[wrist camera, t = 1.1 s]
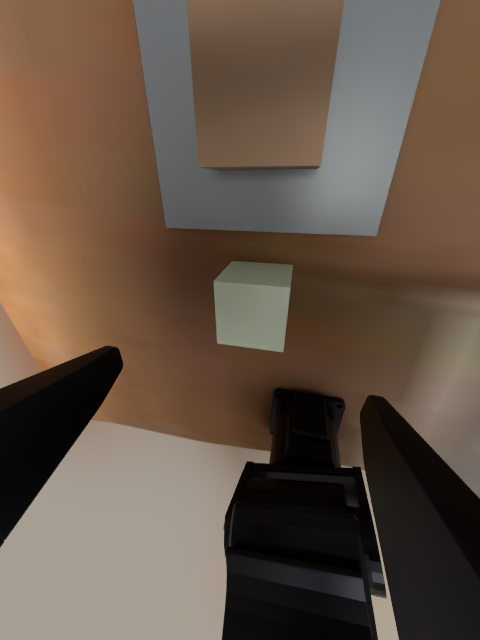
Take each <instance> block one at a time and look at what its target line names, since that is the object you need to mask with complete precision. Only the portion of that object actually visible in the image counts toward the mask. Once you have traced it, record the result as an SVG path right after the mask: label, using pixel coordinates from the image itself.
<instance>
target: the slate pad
mask: <svg viewBox="0 0 480 640" xmlns="http://www.w3.org/2000/svg"><path fill="white" fill-rule="evenodd" d="M440 1H441V0H344V6H343V13H342V20H341V27H340V34H339V41H338V48H337V55H336V62H335V69H334V76H333V84H332V91H331V98H330V105H329V112H328V119H327V126H326V133H325V140H324V147H323V154H322V161H321V166H320V167H319V168H318V169H273V170H212V169H206V168H200V167H199V166H198V152H197V138H196V124H195V111H194V97H193V83H192V69H191V56H190V42H189V28H188V14H187V1H186V0H133V4H134V11H135V18H136V25H137V32H138V39H139V46H140V52H141V59H142V66H143V73H144V80H145V87H146V94H147V101H148V107H149V114H150V121H151V128H152V135H153V142H154V149H155V156H156V162H157V169H158V176H159V183H160V190H161V197H162V204H163V211H164V217H165V224H166V228H180V229H206V230H231V231H257V232H283V233H308V234H334V235H359V236H377V232H378V228H379V225H380V221H381V217H382V214H383V210H384V206H385V203H386V199H387V195H388V192H389V188H390V184H391V181H392V177H393V173H394V170H395V166H396V162H397V159H398V155H399V151H400V148H401V144H402V140H403V137H404V133H405V129H406V126H407V122H408V118H409V114H410V111H411V107H412V103H413V100H414V96H415V92H416V89H417V85H418V81H419V78H420V74H421V70H422V67H423V63H424V59H425V56H426V52H427V48H428V45H429V41H430V37H431V34H432V30H433V26H434V23H435V19H436V15H437V12H438V8H439V4H440Z"/></svg>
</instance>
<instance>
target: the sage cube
mask: <svg viewBox="0 0 480 640" xmlns="http://www.w3.org/2000/svg"><path fill="white" fill-rule="evenodd" d="M292 271H293V265H289V264H273V263H258V262H242V261H232V262H231V263H230V264H229V265H228V266H227V267H226V268H225V269H224V270H223V271H222V272H221V274H220V275H219V276H218V277H217V278H216V279H215V280H214V281H213V282H214V299H215V316H216V333H217V343H218V344H225V345H233V346H240V347H248V348H255V349H262V350H270V351H277V352H283V350H284V341H285V333H286V324H287V315H288V306H289V297H290V288H291V280H292Z"/></svg>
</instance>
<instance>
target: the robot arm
mask: <svg viewBox="0 0 480 640" xmlns="http://www.w3.org/2000/svg"><path fill="white" fill-rule="evenodd" d="M122 368H123V361H122V358H121V354H120V351H119V349H118V348H117V347H113V346H104V347H102V348H99V349H97V350H94V351H92V352H90V353H87V354H85V355H82V356H80V357H77V358H75V359H72V360H70V361H67V362H65V363H62V364H60V365H57V366H55V367H53V368H50V369H48V370H45V371H43V372H40V373H38V374H36V375H33V376H30V377H28V378H25V379H23V380H21V381H18V382H16V383H13V384H11V385H8V386H6V387H3V388H1V389H0V547H1V545H2V544H3V543H4V540H5V539H6V538H7V537H8V535H9V534H10V533H11V531H12V530H13V528H14V527H15V526H16V524H17V523H18V521H19V520H20V518H21V517H22V516H23V514H24V513H25V511H26V510H27V509H28V507H29V506H30V504H31V503H32V502H33V500H34V499H35V497H36V496H37V495H38V493H39V492H40V490H41V489H42V488H43V486H44V484H45V483H46V482H47V480H48V479H49V478H50V476H51V475H52V474H53V472H54V471H55V469H56V468H57V467H58V465H59V463H60V462H61V461H62V460H63V458H64V457H65V455H66V454H67V452H68V451H69V450H70V448H71V447H72V445H73V444H74V443H75V441H76V440H77V438H78V437H79V436H80V434H81V433H82V431H83V430H84V429H85V427H86V426H87V424H88V423H89V422H90V420H91V419H92V417H93V416H94V415H95V413H96V412H97V410H98V409H99V407H100V406H101V404H102V403H103V401H104V400H105V398H106V396H107V394H108V393H109V391H110V389H111V388H112V386H113V384H114V382H115V381H116V379H117V377H118V375H119V374H120V372H121V370H122ZM278 394H280V395H278ZM338 404H340V405H338ZM344 410H345V402H344V401H343V400H341V399H336V398H330V397H324V396H318V395H312V394H306V393H300V392H294V391H288V390H282V389H276V390H274V392H273V402H272V412H271V422H270V434H272V435H273V438H272V446H271V455H270V463H269V464H263V463H254V462H248V461H247V462H246V465H245V468H244V470H243V472H242V474H241V477H240V479H239V482H238V484H237V487H236V489H235V492H234V495H233V498H232V500H231V502H230V505H229V507H228V510H227V513H226V515H225V523H224V548H225V556H226V564H227V591H226V604H225V615H224V624H223V634H222V640H378V638H377V631H376V625H375V618H374V612H373V606H372V600H371V595H375V596H377V597H382V598H386V589H385V583H384V577H383V571H382V566H381V560H380V555H379V550H378V545H377V539H376V535H375V530H374V525H373V521H372V516H371V512H370V508H369V503H368V498H367V494H366V490H365V485H364V481H363V477H362V472H361V468H360V467H353V468H342V467H341V462H340V454H339V447H338V440H337V432H338V429H339V425H340V422H341V419H342V416H343V413H344ZM360 424H361V436H362V447H363V458H364V466H365V472H366V477H367V482H368V487H369V492H370V497H371V502H372V507H373V512H374V517H375V521H376V527H377V531H378V537H379V542H380V547H381V552H382V556H383V562H384V566H385V571H386V577H387V581H388V586H389V591H390V596H391V601H392V606H393V611H394V616H395V621H396V626H397V631H398V636H399V640H480V498H479V497H478V496H477V495H476V494H475V493H474V492H473V491H472V490H471V489H470V488H469V487H468V486H467V485H466V484H465V483H464V481H463V480H462V479H461V478H460V477H459V476H458V475H457V474H456V473H455V472H454V471H453V470H452V469H451V468H450V467H449V466H448V465H447V463H446V462H445V461H444V460H443V459H442V458H441V457H440V456H439V455H438V454H437V453H436V452H435V451H434V450H433V449H432V448H431V447H430V446H429V444H428V443H427V442H426V441H425V440H424V439H423V438H422V437H421V436H420V435H419V434H418V433H417V432H416V431H415V430H414V429H413V428H412V426H411V425H410V424H409V423H408V422H407V421H406V420H405V419H404V418H403V417H402V416H401V415H400V414H399V413H398V412H397V411H396V410H395V409H394V407H393V406H392V405H391V404H390V403H389V402H388V401H387V400H386V399H385V398H384V397H381V396H376V395H369V396H368V397H367V399H366V401H365V403H364V405H363V407H362V409H361V412H360Z"/></svg>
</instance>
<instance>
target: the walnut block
mask: <svg viewBox="0 0 480 640" xmlns="http://www.w3.org/2000/svg"><path fill="white" fill-rule="evenodd" d="M186 1H187V14H188V28H189V42H190V56H191V69H192V83H193V97H194V111H195V124H196V138H197V152H198V166H199V167H200V168H206V169H212V170H273V169H318V168H319V167H320V166H321V161H322V154H323V147H324V140H325V133H326V126H327V119H328V112H329V105H330V98H331V91H332V84H333V76H334V69H335V62H336V55H337V48H338V41H339V34H340V27H341V20H342V13H343V6H344V0H186Z"/></svg>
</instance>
